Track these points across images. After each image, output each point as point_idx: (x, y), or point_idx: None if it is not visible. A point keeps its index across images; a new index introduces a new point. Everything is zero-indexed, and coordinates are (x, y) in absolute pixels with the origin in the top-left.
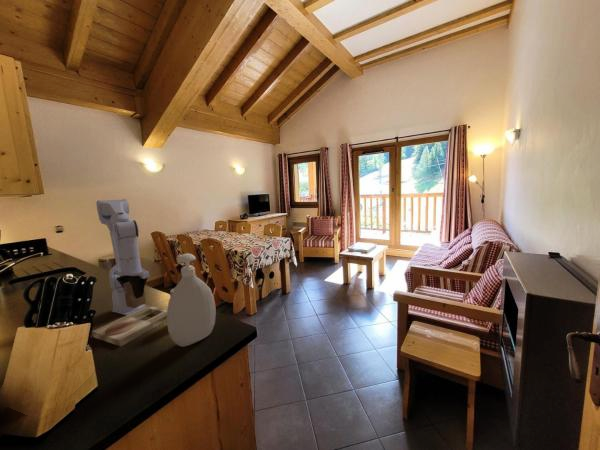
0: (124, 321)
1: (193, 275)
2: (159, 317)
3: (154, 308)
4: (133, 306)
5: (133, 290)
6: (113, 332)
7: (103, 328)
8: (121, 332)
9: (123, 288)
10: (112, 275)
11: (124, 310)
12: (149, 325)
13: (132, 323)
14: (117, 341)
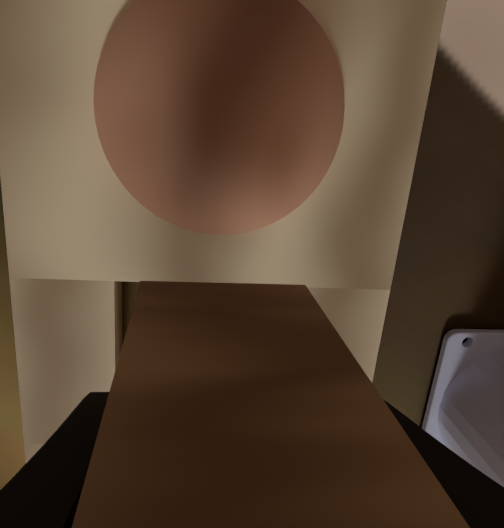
0: (288, 204)
1: None
2: (45, 363)
3: None
4: (153, 288)
5: (72, 504)
6: (186, 8)
7: (386, 60)
8: (107, 37)
9: (491, 487)
10: None
11: (502, 357)
12: (10, 244)
13: (168, 198)
14: None
